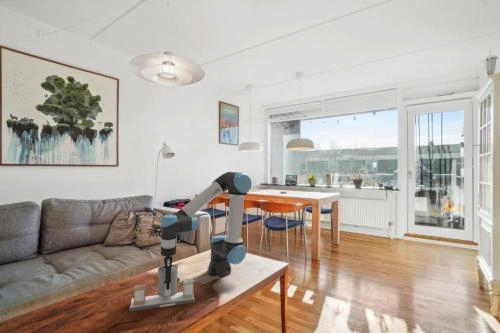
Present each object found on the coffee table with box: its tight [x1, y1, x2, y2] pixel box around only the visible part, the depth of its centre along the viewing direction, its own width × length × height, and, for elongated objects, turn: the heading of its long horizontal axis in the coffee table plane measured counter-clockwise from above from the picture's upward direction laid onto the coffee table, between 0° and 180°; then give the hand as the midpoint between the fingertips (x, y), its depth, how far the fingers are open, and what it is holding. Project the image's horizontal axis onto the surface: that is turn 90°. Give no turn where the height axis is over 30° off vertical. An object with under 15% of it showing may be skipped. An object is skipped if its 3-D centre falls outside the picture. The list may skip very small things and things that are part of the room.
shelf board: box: [128, 291, 196, 312], centre depth 130 cm, size 30×12×2 cm, turn 108°
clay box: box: [133, 283, 147, 306], centre depth 127 cm, size 5×4×8 cm
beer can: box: [157, 264, 179, 297], centre depth 132 cm, size 10×10×12 cm
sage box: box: [182, 278, 195, 299], centre depth 134 cm, size 5×4×8 cm
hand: (167, 290), depth 132 cm, fingers closed on beer can, 9 cm apart
